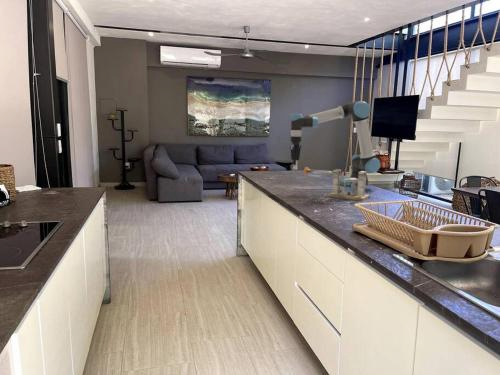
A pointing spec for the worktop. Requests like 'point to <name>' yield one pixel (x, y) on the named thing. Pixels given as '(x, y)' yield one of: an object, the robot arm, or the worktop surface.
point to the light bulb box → (348, 186)
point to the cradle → (360, 196)
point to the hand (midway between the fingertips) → (295, 169)
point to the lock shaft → (316, 171)
